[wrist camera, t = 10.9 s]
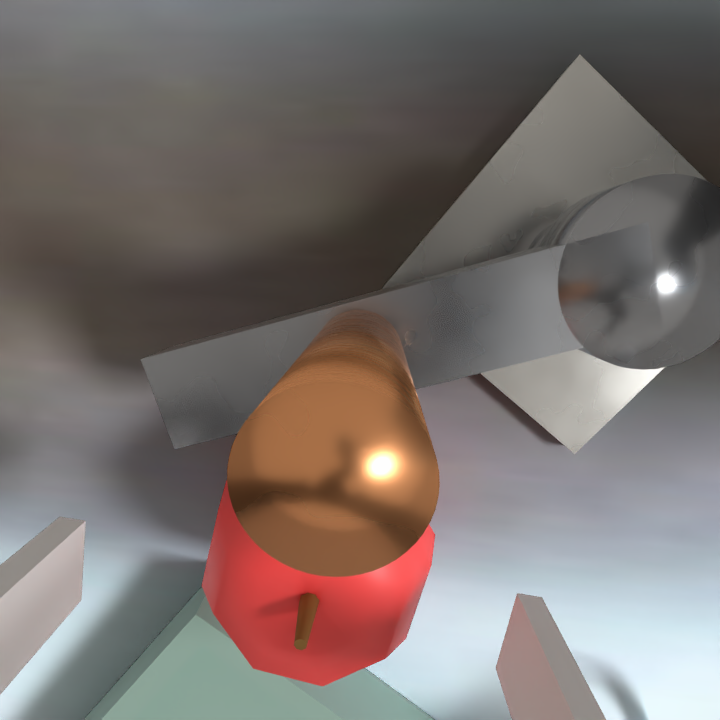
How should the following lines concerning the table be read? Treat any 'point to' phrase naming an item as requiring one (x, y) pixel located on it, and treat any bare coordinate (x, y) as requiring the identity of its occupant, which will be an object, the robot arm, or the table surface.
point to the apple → (309, 606)
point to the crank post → (533, 219)
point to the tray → (235, 683)
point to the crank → (432, 367)
